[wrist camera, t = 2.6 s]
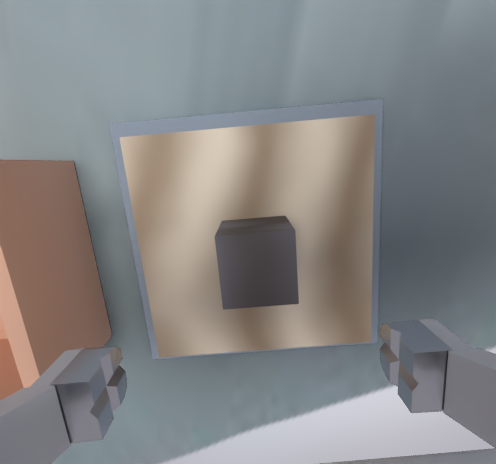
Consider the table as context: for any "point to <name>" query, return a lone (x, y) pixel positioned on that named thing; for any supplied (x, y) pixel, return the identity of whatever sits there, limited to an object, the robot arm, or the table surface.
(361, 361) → the table surface
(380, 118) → the slate mat
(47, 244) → the open square planter box
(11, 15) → the table surface
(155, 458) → the table surface
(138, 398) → the table surface
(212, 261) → the birch lid
